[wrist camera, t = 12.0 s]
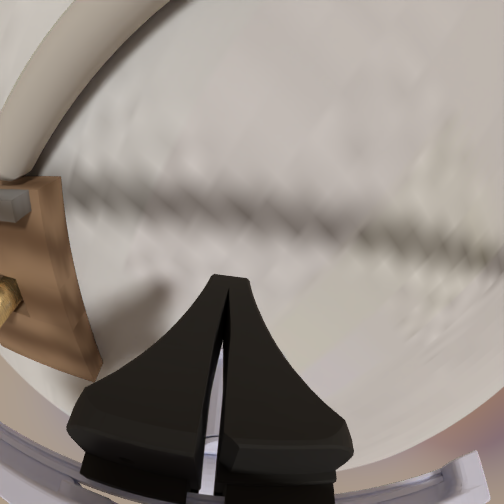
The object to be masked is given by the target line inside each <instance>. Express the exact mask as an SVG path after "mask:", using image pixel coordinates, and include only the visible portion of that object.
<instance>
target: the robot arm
mask: <svg viewBox="0 0 504 504" xmlns="http://www.w3.org/2000/svg"><path fill="white" fill-rule="evenodd" d="M222 342H223V349H221V346H222ZM67 432H68V434H69V435H70V436H71V438H72V439H73V440H74V441H75V442H76V443H77V444H78V445H79V446H80V447H81V448H82V449H83V450H84V451H85V456H84V459H83V462H82V463H80V462H77V461H75V460H72V459H70V458H68V457H65V456H63V455H61V454H58V453H56V452H54V451H52V450H50V449H48V448H46V447H44V446H42V445H40V444H38V443H36V442H34V441H32V440H30V439H29V438H27V437H25V436H23V435H21V434H20V433H18V432H16V431H15V430H13V429H11V428H10V427H8V426H6V425H5V424H3V423H2V422H0V497H2V498H3V499H4V500H6V501H7V502H8V503H9V504H117V503H115V502H113V501H111V500H110V499H109V498H107V497H104V496H102V495H99V494H97V493H94V492H92V491H89V490H87V489H85V488H83V487H82V486H81V485H80V483H81V484H84V485H87V486H89V487H91V488H94V489H97V490H100V491H102V492H106V493H108V494H111V495H114V496H118V497H121V498H124V499H128V500H131V501H134V502H138V503H142V504H485V503H487V502H488V501H489V500H490V494H489V490H488V486H487V482H486V479H485V475H484V471H483V468H482V464H481V461H480V458H479V455H478V452H477V451H476V450H474V451H472V452H470V453H468V454H465V455H463V456H461V457H458V458H456V459H454V460H452V461H451V462H449V463H447V464H446V465H444V466H443V467H442V468H440V469H437V470H435V471H432V472H429V473H426V474H423V475H420V476H417V477H413V478H410V479H406V480H403V481H399V482H395V483H391V484H387V485H383V486H379V487H374V488H369V489H364V490H359V491H353V492H346V493H340V494H334V488H333V483H334V482H336V469H338V468H339V467H340V466H342V465H343V464H345V463H346V462H347V461H348V460H349V459H350V458H351V457H352V456H353V453H354V449H353V444H352V439H351V436H350V433H349V430H348V427H347V424H346V421H345V420H344V419H343V418H342V417H341V416H339V415H338V414H337V413H336V412H335V411H333V410H332V409H331V408H330V407H329V406H328V405H326V404H325V403H324V402H323V401H322V400H321V399H320V398H319V397H318V396H317V395H316V394H315V393H314V392H313V391H312V390H311V389H310V388H309V387H308V385H307V384H306V383H305V382H304V381H303V380H302V378H301V377H300V376H299V375H298V374H297V373H296V371H295V370H294V369H293V368H292V366H291V365H290V364H289V362H288V361H287V360H286V358H285V356H284V355H283V354H282V352H281V351H280V349H279V348H278V346H277V345H276V343H275V341H274V340H273V338H272V336H271V334H270V332H269V331H268V329H267V327H266V325H265V323H264V321H263V319H262V316H261V314H260V312H259V310H258V307H257V305H256V302H255V299H254V296H253V293H252V290H251V286H250V281H249V280H248V279H247V278H241V277H233V276H225V275H218V274H214V275H212V276H211V277H210V279H209V281H208V283H207V285H206V286H205V288H204V289H203V291H202V292H201V294H200V295H199V296H198V298H197V299H196V300H195V302H194V303H193V304H192V306H191V307H190V308H189V309H188V311H187V312H186V313H185V314H184V315H183V316H182V317H181V318H180V319H179V321H178V322H177V323H176V324H175V325H174V326H173V327H172V328H171V329H170V330H169V331H168V332H167V333H166V334H165V335H164V336H163V337H161V338H160V339H159V340H158V341H157V342H156V343H155V344H153V345H152V346H151V347H150V348H148V349H147V350H146V351H145V352H143V353H142V354H141V355H139V356H138V357H137V358H135V359H134V360H132V361H131V362H129V363H128V364H126V365H125V366H123V367H122V368H120V369H119V370H117V371H115V372H114V373H112V374H110V375H108V376H107V377H105V378H103V379H101V380H99V381H97V382H95V383H93V384H91V385H89V386H87V387H85V389H84V390H83V392H82V394H81V395H80V397H79V398H78V400H77V402H76V404H75V406H74V408H73V411H72V414H71V416H70V419H69V421H68V424H67ZM78 482H79V483H78Z"/></svg>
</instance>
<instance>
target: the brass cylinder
mask: <svg viewBox="0 0 504 504" xmlns="http://www.w3.org/2000/svg"><path fill="white" fill-rule="evenodd" d="M22 299H23V297H22V295H21V292H20V289H19V287H18V284H17V281H16V279H14V278H11V277H8V276H3V277H2V278H1V279H0V328H1V327H2V325H3V324H4V323H5V321H6V320H7V318H8V317H9V316H10V315H11V313H12V312H13V311H14V309H15V308H16V307H17V306H18V304H19V303H20V302H21V301H22Z"/></svg>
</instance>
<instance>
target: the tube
mask: <svg viewBox="0 0 504 504" xmlns="http://www.w3.org/2000/svg"><path fill="white" fill-rule="evenodd" d="M169 1H170V0H74V2H73V3H72V4H71V5H70V6H69V7H68V8H67V10H66V11H65V12H64V13H63V14H62V16H61V17H60V18H59V19H58V21H57V22H56V23H55V24H54V26H53V27H52V28H51V30H50V31H49V32H48V34H47V35H46V36H45V38H44V39H43V40H42V42H41V43H40V45H39V46H38V48H37V49H36V51H35V52H34V54H33V55H32V57H31V58H30V60H29V61H28V63H27V64H26V66H25V68H24V69H23V71H22V73H21V74H20V76H19V78H18V80H17V81H16V83H15V85H14V87H13V89H12V90H11V92H10V94H9V96H8V98H7V100H6V102H5V104H4V106H3V108H2V110H1V112H0V180H5V181H13V180H16V179H19V178H21V177H23V176H24V175H26V174H27V173H28V172H30V171H31V170H32V168H33V167H34V165H35V163H36V161H37V159H38V157H39V156H40V154H41V152H42V150H43V149H44V147H45V145H46V143H47V142H48V140H49V138H50V137H51V135H52V134H53V132H54V130H55V129H56V127H57V126H58V124H59V123H60V121H61V120H62V118H63V117H64V115H65V114H66V112H67V111H68V109H69V108H70V107H71V105H72V104H73V102H74V101H75V100H76V98H77V97H78V96H79V94H80V93H81V92H82V90H83V89H84V88H85V86H86V85H87V84H88V83H89V81H90V80H91V79H92V78H93V76H94V75H95V74H96V73H97V72H98V70H99V69H100V68H101V67H102V66H103V65H104V63H105V62H106V61H107V60H108V59H109V58H110V57H111V56H112V55H113V53H114V52H115V51H116V50H117V49H118V48H119V47H120V46H121V45H122V44H123V43H124V42H125V41H126V40H127V39H128V38H129V37H130V36H131V35H132V34H133V33H134V32H135V31H136V30H137V29H138V28H139V27H140V26H141V25H142V24H143V23H145V22H146V21H147V20H148V19H149V18H150V17H151V16H152V15H153V14H155V13H156V12H157V11H158V10H159V9H160V8H162V7H163V6H164V5H165V4H167V3H168V2H169Z"/></svg>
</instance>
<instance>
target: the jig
mask: <svg viewBox="0 0 504 504" xmlns="http://www.w3.org/2000/svg"><path fill="white" fill-rule="evenodd" d="M3 276H8V277H11V278H14V279H16V281H17V284H18V287H19V289H20V292H21V295H22V297H23V299H22V301H21V302H20V303H19V304H18V306H17V307H16V308H15V309H14V311H13V312H12V313H11V315H10V316H9V317H8V318H7V320H6V321H5V323H4V324H3V325H2V327H1V328H0V343H1V345H2V346H3V347H5V348H8V349H10V350H12V351H14V352H16V353H18V354H20V355H23V356H25V357H27V358H30V359H32V360H34V361H37V362H39V363H41V364H44V365H47V366H49V367H52V368H54V369H57V370H60V371H62V372H65V373H68V374H71V375H74V376H77V377H80V378H83V379H86V380H89V381H92V382H95V380H96V378H97V376H98V373H99V371H100V369H101V366H102V364H103V362H102V359H101V356H100V353H99V351H98V348H97V345H96V342H95V339H94V336H93V333H92V330H91V327H90V324H89V321H88V317H87V314H86V311H85V307H84V304H83V300H82V296H81V293H80V289H79V285H78V281H77V276H76V272H75V268H74V263H73V258H72V253H71V248H70V243H69V237H68V231H67V225H66V218H65V211H64V203H63V194H62V184H61V177H58V176H23V177H21V178H19V179H16V180H13V181H5V180H0V279H1V278H2V277H3Z"/></svg>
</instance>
